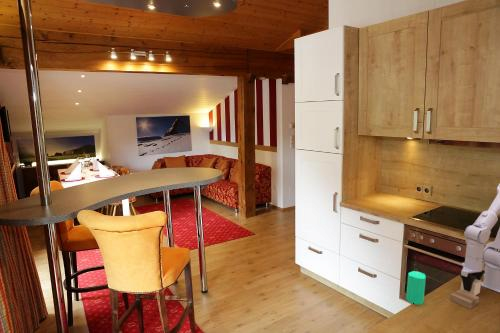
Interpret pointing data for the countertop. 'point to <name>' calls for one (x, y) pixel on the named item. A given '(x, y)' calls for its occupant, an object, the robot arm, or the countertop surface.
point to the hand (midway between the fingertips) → (470, 288)
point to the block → (473, 287)
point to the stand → (464, 299)
